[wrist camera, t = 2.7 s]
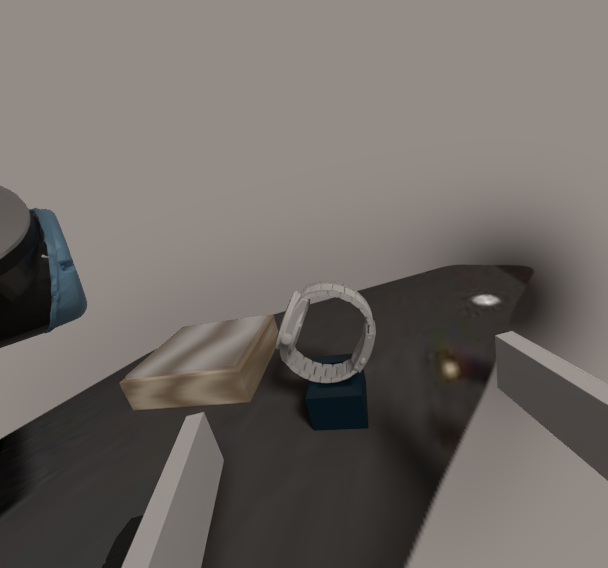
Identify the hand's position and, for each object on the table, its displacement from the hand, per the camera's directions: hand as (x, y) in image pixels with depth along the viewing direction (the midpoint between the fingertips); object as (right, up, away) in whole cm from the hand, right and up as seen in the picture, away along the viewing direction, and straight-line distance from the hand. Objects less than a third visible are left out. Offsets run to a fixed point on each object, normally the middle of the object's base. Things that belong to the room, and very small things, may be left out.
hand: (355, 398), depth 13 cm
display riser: (-13, -6, +22) cm, 27 cm away
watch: (+1, -6, +12) cm, 14 cm away
